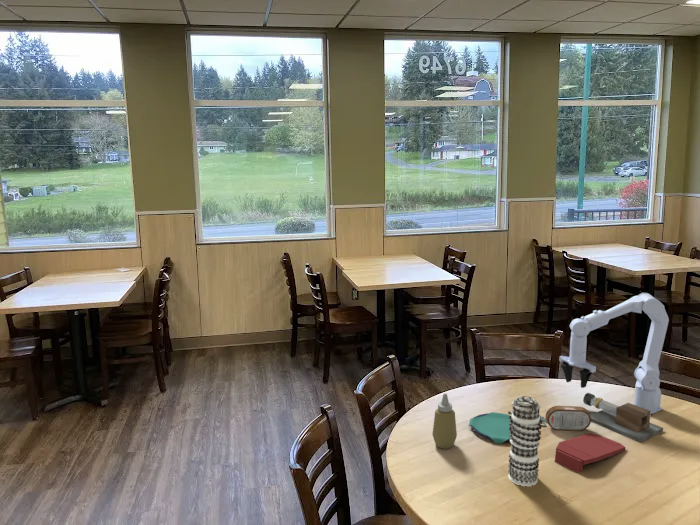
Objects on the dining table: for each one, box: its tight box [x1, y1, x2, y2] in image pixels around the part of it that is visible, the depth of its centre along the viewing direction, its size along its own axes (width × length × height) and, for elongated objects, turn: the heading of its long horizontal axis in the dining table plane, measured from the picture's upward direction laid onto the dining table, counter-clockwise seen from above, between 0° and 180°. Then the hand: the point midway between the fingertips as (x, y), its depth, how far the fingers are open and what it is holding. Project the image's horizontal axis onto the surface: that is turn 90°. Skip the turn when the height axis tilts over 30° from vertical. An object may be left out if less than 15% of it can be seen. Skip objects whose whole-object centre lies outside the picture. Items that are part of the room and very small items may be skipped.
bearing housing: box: [590, 402, 664, 443], centre depth 195 cm, size 14×20×7 cm
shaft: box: [582, 392, 620, 414], centre depth 199 cm, size 4×18×4 cm, turn 32°
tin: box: [544, 405, 592, 432], centre depth 192 cm, size 15×3×8 cm, turn 84°
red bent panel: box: [554, 432, 626, 474], centre depth 177 cm, size 12×5×25 cm
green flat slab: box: [468, 410, 549, 445], centre depth 196 cm, size 20×30×2 cm, turn 118°
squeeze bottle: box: [432, 393, 458, 450], centre depth 182 cm, size 8×8×18 cm
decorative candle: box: [507, 395, 543, 487], centre depth 161 cm, size 9×9×25 cm
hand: (575, 384), depth 210 cm, fingers open, 6 cm apart
